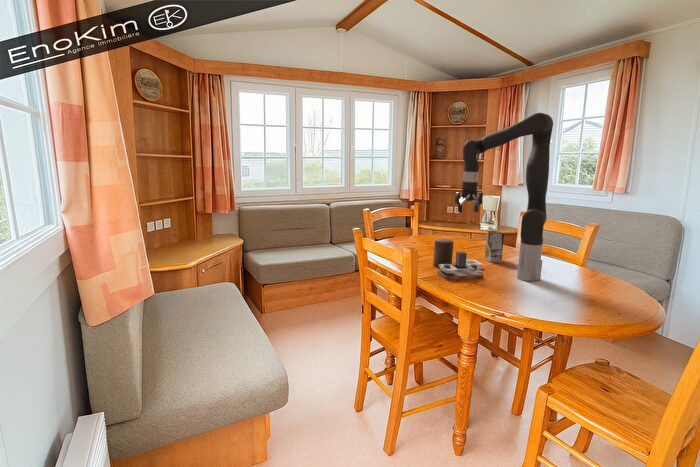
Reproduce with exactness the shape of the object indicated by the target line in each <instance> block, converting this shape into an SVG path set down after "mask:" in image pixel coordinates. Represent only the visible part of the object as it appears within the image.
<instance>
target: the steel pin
mask: <svg viewBox="0 0 700 467" xmlns="http://www.w3.org/2000/svg"><path fill="white" fill-rule="evenodd" d="M467 254H468V253H467V252H466V251H455V263H454V264H455V267H456V268H457V269H461V268H466V260H467Z"/></svg>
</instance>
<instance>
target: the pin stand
mask: <svg viewBox="0 0 700 467" xmlns="http://www.w3.org/2000/svg"><path fill="white" fill-rule="evenodd" d="M466 264H467V265H469V266H471V264H476V265H477V269H479V270H482V269H483V263H481V262H479V261H478V260H476V259H466Z"/></svg>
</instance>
